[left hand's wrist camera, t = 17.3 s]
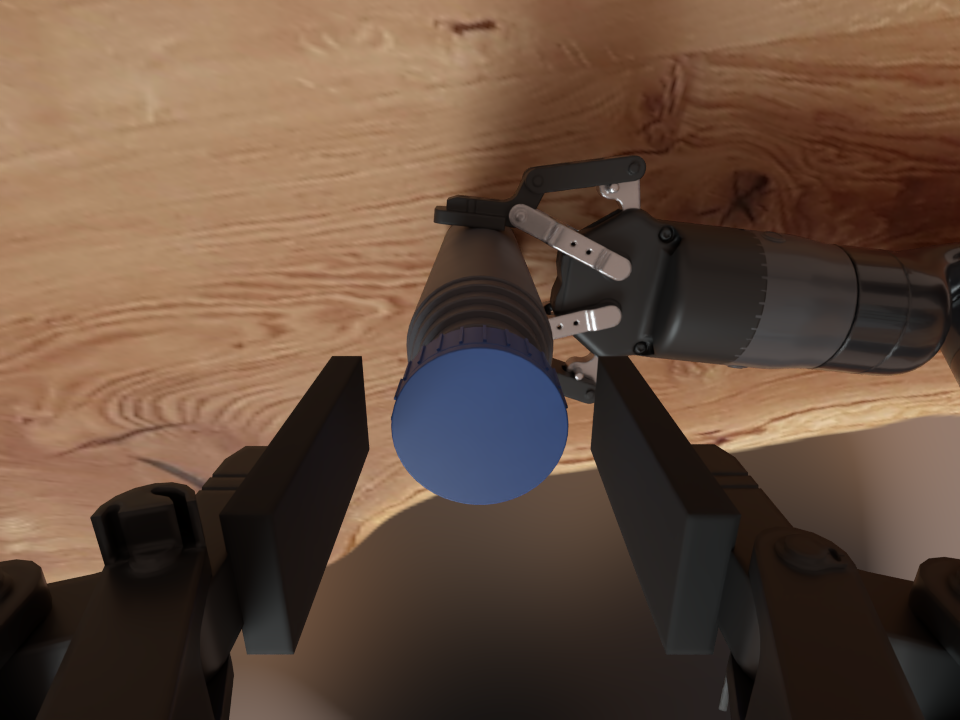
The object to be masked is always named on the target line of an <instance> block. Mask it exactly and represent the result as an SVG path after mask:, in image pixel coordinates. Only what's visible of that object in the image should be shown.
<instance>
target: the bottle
mask: <svg viewBox="0 0 960 720" xmlns="http://www.w3.org/2000/svg"><path fill="white" fill-rule="evenodd" d="M483 325H486V327H490V328H497V329H501V330H505V329H508V331H509V332H511V333H513V334H516V335H518V336H520V337H521V338H523V339H525V338H527V339H528V340H529V343H531V344H532V345H533V346H535V347H536V348H537V349H538V350H539V351H540V352H542V351H543V352H544V354H545V357H546V359H547V361H548V362H549V364H550V366H551V364H552V357H553V334H552V330H551V326H550V322H549V320H548V317H547V315H546V312H545V310H544V307H543V305H542V302H541V300H540V297H539V295H538V292H537V290H536V287H535V285H534V282H533V280H532V277H531V275H530V272H529V270H528V267H527V265H526V262H525V260H524V257H523V255H522V252H521V250H520V247H519V245H518V242H517V240H516V238H515V235H514V233H513V231H512V230H511V228H510V227H505V231H500V230H491V229H484V228H473V227H464V226H455V225H452V226H451V227H450V229H449V230H448V232H447V234H446V236H445V238H444V241H443V243H442V245H441V248H440V250H439V253H438V255H437V258H436V260H435V263H434V265H433V268H432V270H431V273H430V275H429V278H428V280H427V283H426V285H425V287H424V290H423V292H422V295H421V297H420V300H419V302H418V305H417V307H416V310H415V312H414V315H413V317H412V320H411V323H410V325H409V329H408V334H407V357H408V362H409V361H412V360H413V359H414V358H415V356H416V355H417V354H418V353H419V352H420V351H421V347H422V346H423V345H425V346H426V345H428V344H429V343H430V342H432V341H433V340H435V339H437V338H438V337H439V335H440V334H442V333H443V335H444V334H447V333H449V332H451V331H455V330H459V329H460V327H463V326H464V328H470V327H483Z"/></svg>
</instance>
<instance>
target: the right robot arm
mask: <svg viewBox="0 0 960 720" xmlns="http://www.w3.org/2000/svg"><path fill="white" fill-rule="evenodd" d="M645 171H646V164H645V161H644V160H643V159H642V158H641V157H639V156H633V155H620V156H612V157H605V158H597V159H589V160H582V161H574V162H567V163H559V164H552V165H544V166H536V167H530V168H528V169H527V170H526V171H525V172H524V174H523V177H522V181H521V183H520V185H519V187H518V189H517V191H516V193H515V194H514V195H513V196H512V197H511V198H509V199H506V200H499V199H490V198H481V197H472V196H464V195H456V196H453V197H449V198H448V199H447V206H436V208H435V212H434V222H435V223H439V224H446V225H455V226H464V227H473V228H484V229H491V230H500V231H505V227H514V228H518V229H520V230H522V231H524V232H526V233H528V234H530V235H532V236H534V237H536V238H537V239H539V240H541V241H543V242H545V243H546V244H548V245H549V246H551V247H553V248H555V249H557V250H558V252H557V259H556V266H557V278H556V280H555V283H554V285H553V287H552V290H551V297H550V301H546V302H542V305H543V307H544V310H545V312H546V315H547V317H548V320H549V322H550V326H551V330H552V334H553V340H554V339H558V338H562V337H566V336H570V335H573V336H574V337H575V338H576V339H577V340H578V341H579V342H580V343H581V344H583V345H584V346H585V347H586V348H587V349H588V350H589V351H590V354H588V355H587V356H585V357H571V358H569V359H568V360H567V361H566V362H563V361H560V360H557V359H554V358H552V364H551V367H552V369H553V368H555V370H556V373H557V376H558V379H559V381H560V384H561V387H562V391H563V394H564V396H566V397H569V398H572V399H575V400H578V401H581V402H584V403H587V404H591V403H594V402H595V390H596V378H597V365H598V356H629V355H639V356H645V357H653V358H663V359H673V360H682V361H692V362H702V363H711V364H721V365H726V366H728V367H732V368H741V369H742V368H748V367H750V368H762V369H788V368H803V369H813V370H823V371H832V372H842V373H853V374H863V375H875V376H889V375H898V374H903V373H907V372H910V371H913V370H915V369H917V368H919V367H921V366H922V365H924V364H925V363H927V362H928V361H929V360H930V359H932V358H933V357H934V356H935V355H936V354H937V352H938V351H939V350H941V352H942V353H943V355H944V357H945V359H946V361H947V363H948V365H949V367H950V369H951V371H952V373H953V375H954V377H955V379H956V381H957V383H958V385H959V386H960V242H956V243H949V244H942V245H934V246H927V247H922V248H917V249H910V250H903V251H896V252H893V251H887V250H881V249H872V248H864V247H855V246H846V245H837V244H828V243H822V242H818V241H814V240H811V239H807V238H803V237H799V236H794V235H789V234H782V233H775V232H770V231H766V232H763V231H754V230H744V229H737V228H728V227H719V226H710V225H702V224H693V223H684V222H675V221H666V220H659V219H655V218H654V217H652V216H651V215H649V214H648V213H647V212H646V211H644V210H642V209H640V178H642V176H643V175H644V173H645ZM594 186H596V189H597V192H598V194H599V195H600V196H602V197H604V198H607V199H614V200H615V201H616V202H617V203H618V206H619V209H617V210H616V211H614V212H612V213H610V214H609V215H607V216H605V217H603V218H601V219H600V220H598V221H596V222H594V223H592V224H591V225H589V226H587V227H585V228H584V229H582V230H580V231H579V230H577V229H575V228H574V227H572V226H570V225H568V224H566V223H564V222H562V221H560V220H558V219H557V218H555V217H553V216H550V215H548V214H546V213H544V212H543V211H541V210H539V209H537V206H538V204H539V203H540V201H541V199H542V197H543V195H544V193H547V192H555V191H563V190H570V189H578V188H586V187H594ZM552 310H553V312H551V311H552ZM558 325H560V326H559V327H557V326H558Z"/></svg>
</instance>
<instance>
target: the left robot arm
mask: <svg viewBox="0 0 960 720" xmlns="http://www.w3.org/2000/svg"><path fill="white" fill-rule="evenodd" d="M368 452H369V439H368V426H367V414H366V402H365V390H364V378H363V365H362V356H332V357H331V359H330V360H329V361H328V363H327V364H326V366H325V367H324V368H323V370H322V371H321V373H320V374H319V375H318V377H317V378H316V380H315V381H314V382H313V384H312V385H311V386H310V388H309V389H308V391H307V392H306V393H305V395H304V396H303V398H302V399H301V400H300V402H299V403H298V405H297V406H296V407H295V409H294V410H293V412H292V413H291V414H290V416H289V417H288V419H287V420H286V421H285V423H284V424H283V426H282V427H281V428H280V430H279V431H278V433H277V434H276V435H275V437H274V438H273V440H272V441H271V442H270V444H269V445H268V446H245V447H244V448H242V449H240V450H239V451H237V452H236V453H234V454H233V455H231V456H229V457H228V458H226V459H225V460H224V461H223V462H222V464H221V465H220V466H219V467H218V468H217V470H216V471H215V472H214V473H213V476H212V477H210V478H209V479H208V481H207V482H206V483H205V484H204V485H203V487H202V490H199V491H198V493H197V494H196V495H195V491H194V490H192V489H191V488H190V487H188V486H187V485H184V484H179V483H174V482H169V483H154V484H150V485H146V486H142V487H137V488H134V489H132V490H129V491H127V492H124V493H122V494H120V495H117V496H115V497H114V498H112V499H111V500H109V501H107V502H106V503H104V504H103V505H101V506H100V507H99V508H98V509H97V510H96V512H95V513H94V514H93V515H92V516H91V517H90V518H91V521H92V525H93V528H94V531H95V534H96V538H97V541H98V544H99V548H100V551H101V554H102V557H103V561H104V564H105V566H104V569H103V571H102V572H99V573H95V574H91V575H86V576H82V577H77V578H72V579H67V580H63V581H58V582H53V583H49V584H47V583H46V580H45V577H44V574H43V572H42V569H41V567H40V566H39V565H37V564H36V563H34V562H33V561H27V560H17V559H16V560H9V561H3V562H0V720H229V715H230V705H231V696H232V687H233V678H234V672H233V666H232V661H231V656H230V651H231V649H232V647H233V645H234V643H235V641H236V639H237V637H238V635H239V633H240V631H241V629H242V631H243V636H244V641H245V646H246V651H247V654H294V652H295V649H296V647H297V644H298V641H299V638H300V636H301V633H302V630H303V628H304V625H305V622H306V620H307V617H308V614H309V611H310V609H311V606H312V603H313V600H314V598H315V595H316V592H317V590H318V587H319V584H320V582H321V579H322V576H323V573H324V571H325V568H326V565H327V563H328V560H329V557H330V555H331V552H332V549H333V546H334V544H335V541H336V538H337V536H338V533H339V530H340V527H341V525H342V522H343V519H344V517H345V514H346V511H347V508H348V506H349V503H350V500H351V498H352V495H353V492H354V490H355V487H356V484H357V481H358V479H359V476H360V473H361V471H362V468H363V465H364V462H365V460H366V457H367V454H368ZM591 452H592V454H593V457H594V460H595V462H596V465H597V468H598V471H599V473H600V476H601V479H602V481H603V484H604V487H605V490H606V492H607V495H608V498H609V500H610V503H611V506H612V509H613V511H614V514H615V517H616V519H617V522H618V525H619V527H620V530H621V533H622V536H623V538H624V541H625V544H626V546H627V549H628V552H629V555H630V557H631V560H632V563H633V565H634V568H635V571H636V573H637V576H638V579H639V582H640V584H641V587H642V590H643V592H644V595H645V598H646V601H647V603H648V606H649V609H650V611H651V614H652V617H653V620H654V622H655V625H656V628H657V630H658V633H659V636H660V638H661V641H662V644H663V647H664V649H665V652H666V654H713V651H714V646H715V641H716V636H717V631H718V627H719V628H720V630H721V632H722V634H723V636H724V638H725V640H726V642H727V644H728V646H729V648H730V650H731V651H730V656H729V661H728V665H727V670H726V674H725V679H724V683H723V688H722V693H721V697H720V703H719V710H723V711H726V710H727V705H728V701H729V704H730V713H731V720H960V559H955V558H948V557H940V558H929V559H927V560H926V561H925V562H923V563H922V564H920V566H919V569H918V572H917V575H916V577H915V580H914V581H909V580H904V579H899V578H895V577H890V576H885V575H880V574H875V573H871V572H867V571H863V570H859V569H857V567H856V565H855V564H854V562H853V561H852V560H851V558H850V557H849V556H848V554H847V553H846V552H845V551H843V550H842V549H841V548H839V547H838V546H837V545H835V544H834V543H833V542H831V541H829V540H827V539H825V538H823V537H821V536H819V535H817V534H815V533H812V532H808V531H805V530H801V529H798V528H793V526H792V525H791V524H790V523H789V522H788V520H787V519H786V518H785V517H784V516H783V514H782V513H781V512H780V511H779V509H778V508H777V507H776V506H775V505H774V503H773V502H772V501H771V500H770V499H769V497H768V496H767V495H766V494H765V493H764V491H763V490H762V489H761V488H758V484H757V483H756V482H755V481H754V479H753V478H752V477H751V476H748V472H747V471H746V470H745V469H744V467H743V466H742V465H741V464H740V462H739V461H738V460H737V459H736V458H735V457H734V456H732V455H731V454H729V453H727V452H726V451H724V450H723V449H721V448H719V447H718V446H716V445H715V444H690V442H689V441H688V440H687V438H686V437H685V435H684V434H683V433H682V431H681V430H680V428H679V427H678V426H677V424H676V423H675V421H674V420H673V419H672V417H671V416H670V414H669V413H668V412H667V410H666V409H665V407H664V406H663V405H662V403H661V402H660V400H659V399H658V398H657V396H656V395H655V393H654V392H653V391H652V389H651V388H650V387H649V385H648V384H647V382H646V381H645V380H644V378H643V377H642V375H641V374H640V373H639V371H638V370H637V368H636V367H635V366H634V364H633V363H632V361H631V360H630V359H629V357H628V356H598V365H597V378H596V390H595V402H594V414H593V426H592V439H591Z"/></svg>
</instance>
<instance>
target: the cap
mask: <svg viewBox="0 0 960 720" xmlns="http://www.w3.org/2000/svg"><path fill="white" fill-rule="evenodd" d="M394 400H396V402H395V405H394V409H393V413H392V416H391V420H392V423H391V429H392V438H393V442H394V447H395V449H396V452H397V454H398V457H399V458H400V460H401V462H402V464H403V466H404V467H405V468H406V470H407V471H408V472H409V474H410V475H411V476H412V477H413V478H414V479H415V480H416V481H417V482H419V483H420V484H421V485H422V486H423V487H425V488H426V489H428V490H430V491H431V492H433V493H434V494H437V495H439V496H441V497H443V498H446V499H449V500H452V501H455V502H460V503H464V504H474V505H486V504H495V503H500V502H504V501H508V500H511V499H514V498H517V497H519V496H521V495H523V494H525V493H527V492H529V491H530V490H532V489H533V488H535V487H536V486H538V485H539V484H540V483H541V482H542V481H544V480H545V479H546V477H547V476H548V475H549V474H550V473H551V472H552V471H553V469H554V468H555V466H556V465H557V464H558V462H559V460H560V458H561V456H562V454H563V451H564V448H565V445H566V441H567V436H568V415H567V410H566V408H568V406H567V403H566V400H565V397H564V394H563V391H562V387H561V384H560V381H559V379H558V376H557V373H556V370H555V368H553V369H552V367H551V366H550V364H549V362H548V361H547V359H546V357H545V354H544V352H543V351H542V352H540V351H539V350H538V349H537V348H536V347H535V346H533V345H532V344H531V343H529V340H528V339H527V338H525V339H523V338H521V337H520V336H518V335H516V334H513V333H511V332H509V331H508V329H505V330H501V329H497V328H490V327H486V325H483V327H470V328H464V326H463V327H460V329H459V330H455V331H451V332H449V333H447V334H444V335H443V333H442V334H440V335H439V337H438V338H437V339H435V340H433V341H432V342H430V343H429V344H428V345H426V346H425V345H423V346H422V347H421V351H420V352H419V353H418V354H417V355H416V356H415V358H414V359H413V360H412V361H409V362H408V365H407V368H406V371H405V374H404V377H403V379H400V382H399V385H398V388H397V391H396V394H395V397H394Z"/></svg>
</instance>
